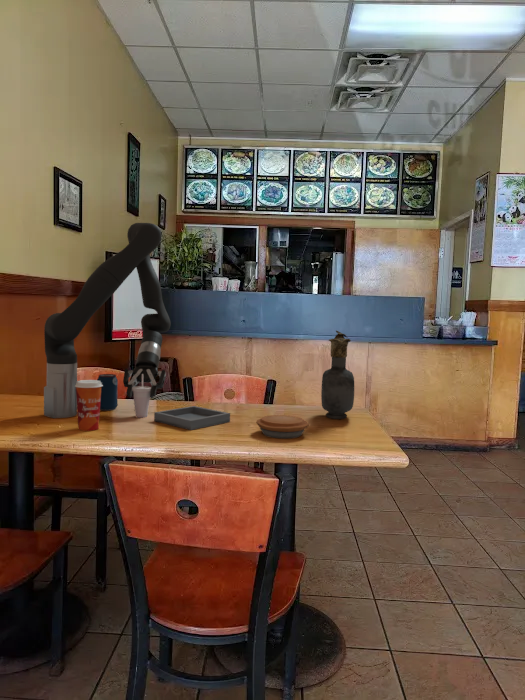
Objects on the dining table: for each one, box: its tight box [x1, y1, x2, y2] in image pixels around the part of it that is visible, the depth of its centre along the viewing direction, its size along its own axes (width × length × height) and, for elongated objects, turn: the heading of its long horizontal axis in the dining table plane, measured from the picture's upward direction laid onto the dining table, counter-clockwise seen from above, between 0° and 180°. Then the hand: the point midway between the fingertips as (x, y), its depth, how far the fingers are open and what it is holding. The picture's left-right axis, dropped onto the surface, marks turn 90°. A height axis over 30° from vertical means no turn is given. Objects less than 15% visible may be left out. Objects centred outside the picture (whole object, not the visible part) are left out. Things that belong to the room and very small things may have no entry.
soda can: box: [96, 373, 119, 411], centre depth 183 cm, size 7×7×12 cm
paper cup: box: [75, 379, 103, 432], centre depth 153 cm, size 8×8×14 cm
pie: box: [255, 414, 310, 440], centre depth 154 cm, size 16×16×5 cm
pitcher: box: [320, 330, 355, 420], centre depth 182 cm, size 11×19×30 cm, turn 176°
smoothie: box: [132, 374, 152, 418], centre depth 172 cm, size 6×6×14 cm
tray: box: [153, 405, 231, 431], centre depth 167 cm, size 17×17×3 cm
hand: (140, 396), depth 170 cm, fingers open, 6 cm apart
